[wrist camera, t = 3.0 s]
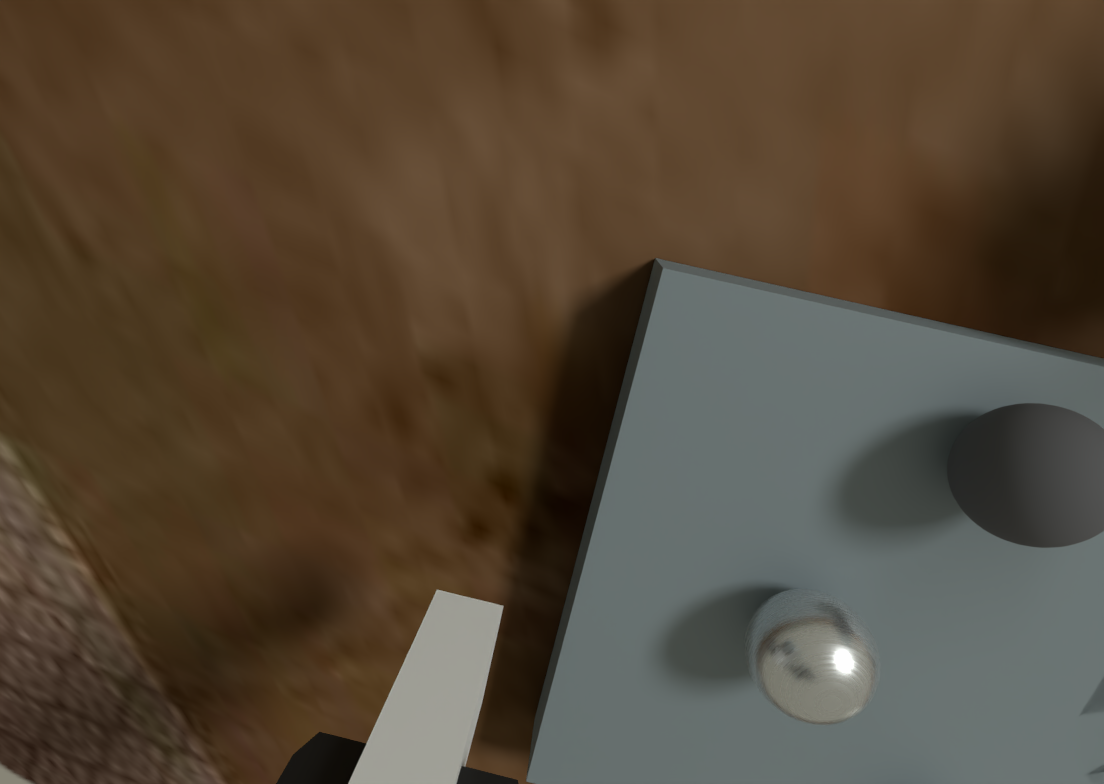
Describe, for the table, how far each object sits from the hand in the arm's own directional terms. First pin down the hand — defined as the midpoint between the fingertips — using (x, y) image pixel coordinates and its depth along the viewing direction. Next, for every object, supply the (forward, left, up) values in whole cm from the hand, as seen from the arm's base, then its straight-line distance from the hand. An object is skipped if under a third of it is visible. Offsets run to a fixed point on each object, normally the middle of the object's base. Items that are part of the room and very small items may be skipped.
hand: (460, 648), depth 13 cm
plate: (+16, 0, -7) cm, 17 cm away
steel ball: (+9, 0, -2) cm, 9 cm away
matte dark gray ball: (+12, +6, -2) cm, 13 cm away
